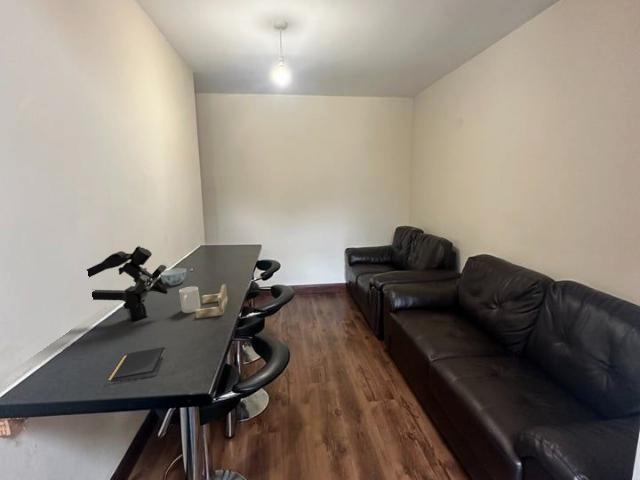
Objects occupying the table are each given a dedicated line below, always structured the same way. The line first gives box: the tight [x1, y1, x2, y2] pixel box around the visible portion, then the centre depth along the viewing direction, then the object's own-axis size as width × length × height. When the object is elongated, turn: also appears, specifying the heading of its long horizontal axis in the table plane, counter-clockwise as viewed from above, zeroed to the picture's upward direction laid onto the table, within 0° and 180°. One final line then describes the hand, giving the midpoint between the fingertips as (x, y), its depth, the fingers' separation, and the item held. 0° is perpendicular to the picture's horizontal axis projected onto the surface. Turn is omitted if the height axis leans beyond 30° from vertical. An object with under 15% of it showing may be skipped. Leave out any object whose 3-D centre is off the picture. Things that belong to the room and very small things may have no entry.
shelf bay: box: [195, 283, 228, 319], centre depth 159 cm, size 12×21×8 cm, turn 10°
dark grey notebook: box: [107, 346, 166, 383], centre depth 112 cm, size 20×2×15 cm
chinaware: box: [159, 267, 187, 286], centre depth 206 cm, size 15×15×8 cm
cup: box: [178, 285, 201, 314], centre depth 157 cm, size 8×12×10 cm
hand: (167, 293), depth 154 cm, fingers closed
